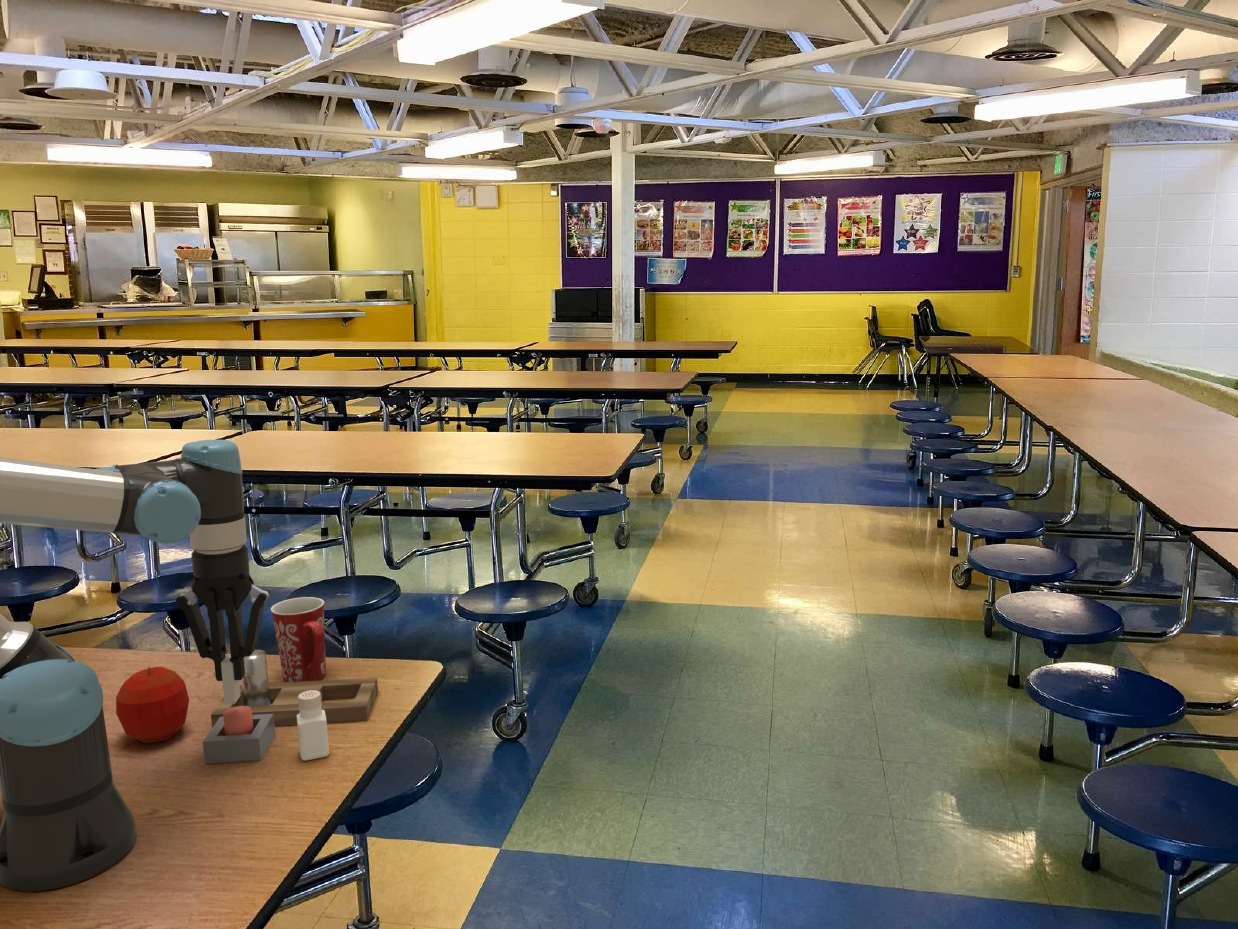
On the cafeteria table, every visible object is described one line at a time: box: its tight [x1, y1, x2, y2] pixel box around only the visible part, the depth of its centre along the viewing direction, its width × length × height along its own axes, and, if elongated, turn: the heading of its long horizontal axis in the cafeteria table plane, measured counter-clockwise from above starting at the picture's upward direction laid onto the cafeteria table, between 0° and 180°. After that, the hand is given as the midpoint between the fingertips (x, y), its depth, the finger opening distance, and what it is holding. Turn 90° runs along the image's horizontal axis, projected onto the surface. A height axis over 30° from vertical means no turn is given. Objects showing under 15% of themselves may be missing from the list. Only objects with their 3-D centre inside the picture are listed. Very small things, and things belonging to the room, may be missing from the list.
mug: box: [270, 596, 327, 683], centre depth 166 cm, size 13×9×14 cm
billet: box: [241, 649, 272, 707], centre depth 154 cm, size 4×4×10 cm
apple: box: [115, 666, 190, 744], centre depth 146 cm, size 10×10×12 cm
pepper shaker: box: [296, 690, 330, 761], centre depth 140 cm, size 4×4×10 cm
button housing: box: [202, 714, 276, 765], centre depth 143 cm, size 8×8×4 cm
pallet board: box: [210, 677, 379, 729], centre depth 155 cm, size 11×24×2 cm, turn 95°
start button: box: [223, 705, 254, 736], centre depth 142 cm, size 4×4×5 cm
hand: (232, 699), depth 141 cm, fingers closed
